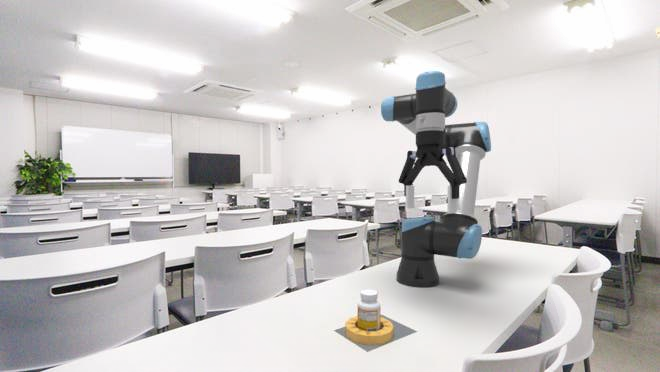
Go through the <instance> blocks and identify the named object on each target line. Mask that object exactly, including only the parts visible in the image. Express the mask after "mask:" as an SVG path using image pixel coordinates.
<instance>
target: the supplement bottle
mask: <svg viewBox="0 0 660 372" xmlns="http://www.w3.org/2000/svg"><path fill="white" fill-rule="evenodd" d="M378 294H379V293H378V291H377V290H374V289H363V290H361V291H360V299H359V300H358V301H357V316H358V329H360V330H363V331H368V332H369V331H378V330H380V315H381V302H380V301H379V300H378V298H379V295H378Z"/></svg>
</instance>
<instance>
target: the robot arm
mask: <svg viewBox="0 0 660 372" xmlns="http://www.w3.org/2000/svg"><path fill="white" fill-rule="evenodd" d="M415 80H416V82H415V89H414V90H415V93H410V94H404V95H397V96H396V95H395V96H394V95H393V96H391V97H386V98H384V99H383V100H382V101H381V105H380V112H381V117H382V119H383V121H385V122H392V123H393V122H397V123H399V124H401V126H403V127H404V128H405V129H407V130H408V131H410V132H411V133H412V134H414V135H415V146H416V148H417V149H416V150H408V151H407V153H406V159H405V162H404V165H403V167H402V171H401V172H400V174H399V179H398V183H399V184H402V185H403V186H404V189H403V190H404V197H405V209H415V185H414V182H415V180H416V179H417V178H418V176H419V174H420V173H421V172H422V170H423V169H424V168H425V167H431V166H432V167H436V168H438V170H439V171H440V172H441V174H442V175H443V176H444V178H445V179H446V181H448V183H449V186H447V206H446V207H447V212H446V213H444V214H443V215H442V217H441V221H436V218H435V217H434V216H423V217H422V216H419V217H412V218H406V219H403V221H402V222H401V230H400V235H401V236H400V237H401V238H400V239H401V245H400V246H401V251H400V252H401V259H400V262H399V266H398V268H397V271H396V277H395V278H396V281H397V282H398V283H400V284H403V285H406V286H410V287H416V288H430V287H429V286H431V287H434V286H438V285H439V284H438V283H440V275H439V273H438V270H437V266H436V262H435V255H436V256H441V257H442V256H444V257H452V258H457V259H468V260H469V259H474V258H475V257H476V256H477V255H478V254H479V250H480V249H481V248H480V247H481V244H482V236H483V228H482V226H481V225H480V224H478V223H479V220H478V219H477V218H476V217H475V208H476V200H477V191H478V181H479V174H480V173H479V172H480V167H481V166H480V164H481V160H483V159H484V158H485V157H486V153H488V152H491V151H492V142H491V141H492V140H491V133H490V128H489V125H488V123H487V122H485V121H474V122H465V123H464V122H463V123H454V124H453V123H452V124H446V118H450V117H451V116H452V115H453V114H454V113H456V110H457V108H458V99H457V97H456V96H455V94H454V93H453V92H452V91H450V90H448V89H447V88H446V85H447V82H446V75H445V73H444V72H443V71H439V70H431V71H430V70H429V71H424V72H422V73H420V74H418V76H416V79H415ZM444 156H445V157H446V160H447V162H448V164H449V166H448V164H447V162H446V161H445V159H444ZM437 284H438V285H437Z"/></svg>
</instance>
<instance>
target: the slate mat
mask: <svg viewBox="0 0 660 372" xmlns="http://www.w3.org/2000/svg"><path fill="white" fill-rule="evenodd" d="M380 317H383V318H385V319H387V320H389V321H390V322H391V323H392V325H393V326H394V335H393V337H392V339H391V341H389V342H386V343H384V344H381V345H365V344H361V343H356V342H354V341H352V340H351V339H349V338H348V337H347V335H346V332H345V326H343V327H340V328H337V329H334V332H335V333H337V334H339V335H340V336H342V337H343V338H345V339H347V341H349V342H351V343H353V344H354V345H356V346H357V347H359V348H361V349H362V350H364V352H367V353H368V352H371V351H372V350H373V351H374V350H376V349H378V348H381V347H383V346H385V345H386V346H387V344H390V343H393V342H395V341H397V340H401V339H403V338H405V337H407V336H410V335H412V334H414V333H415V334H416V333H417V332H418V331H417V330H415V329H413V328H411V327H409V326H406V324H403V323H400V322H398V321H396V320H395V319H392V318H391V317H387V316H385V315H384V314H380Z"/></svg>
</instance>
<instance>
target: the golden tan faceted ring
mask: <svg viewBox="0 0 660 372" xmlns="http://www.w3.org/2000/svg"><path fill="white" fill-rule="evenodd" d="M344 324H345V325H344V327H345V332H346V335H347V337H348V338H349V339H351V340H352V341H354V342H356V343H361V344H365V345H381V344H384V343H386V342H389V341H391V339H392V337H393V335H394V326H393V325H392V323H391V322H390V321H389V320H387V319H385V318H383V317H380V330H378V331H369V332H368V331H363V330H360V329H358V315H355V316H353V317H350V318H348V319H347V321H346V322H345V323H344Z"/></svg>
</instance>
